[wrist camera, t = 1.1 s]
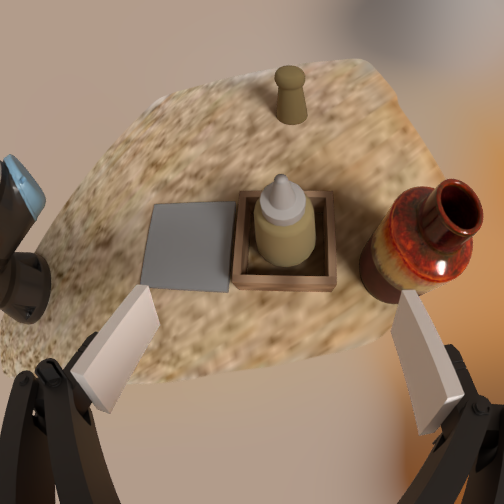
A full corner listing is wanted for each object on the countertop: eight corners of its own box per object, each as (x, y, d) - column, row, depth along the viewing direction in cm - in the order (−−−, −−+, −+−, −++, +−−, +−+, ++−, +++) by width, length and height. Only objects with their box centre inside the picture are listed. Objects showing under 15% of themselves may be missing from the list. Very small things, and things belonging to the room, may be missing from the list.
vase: (350, 240, 40) (390, 157, 21) (411, 228, 39) (474, 151, 20) (368, 312, 37) (435, 279, 18) (431, 294, 36) (517, 251, 17)
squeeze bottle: (258, 274, 41) (233, 223, 24) (258, 222, 43) (237, 147, 26) (315, 273, 40) (331, 219, 23) (312, 220, 42) (321, 143, 25)
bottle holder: (239, 289, 40) (231, 282, 36) (245, 207, 44) (239, 191, 40) (331, 291, 38) (336, 284, 34) (328, 207, 42) (332, 191, 38)
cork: (298, 101, 51) (297, 58, 40) (313, 119, 48) (314, 74, 38) (271, 109, 51) (265, 66, 40) (284, 128, 48) (280, 83, 38)
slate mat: (143, 287, 42) (139, 286, 41) (156, 207, 47) (154, 204, 46) (228, 292, 40) (226, 291, 39) (236, 204, 45) (234, 201, 44)
